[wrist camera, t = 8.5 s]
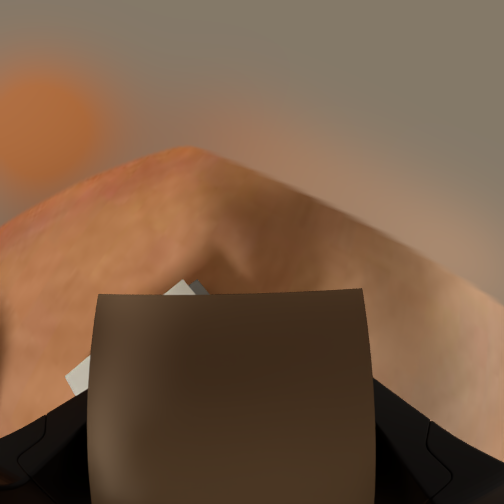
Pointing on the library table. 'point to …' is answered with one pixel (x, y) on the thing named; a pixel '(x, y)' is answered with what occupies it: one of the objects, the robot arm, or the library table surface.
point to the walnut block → (231, 399)
